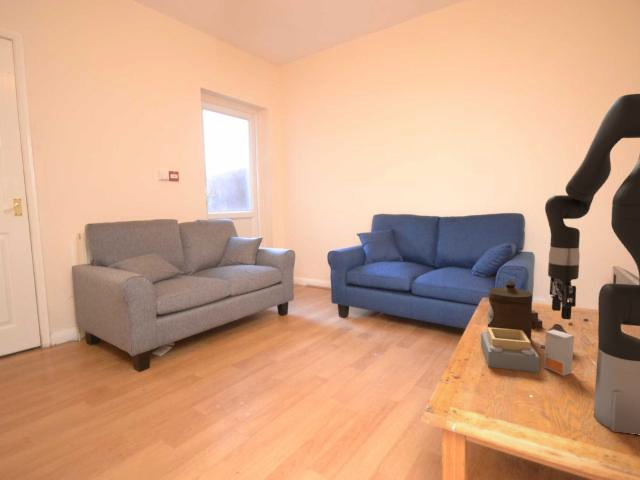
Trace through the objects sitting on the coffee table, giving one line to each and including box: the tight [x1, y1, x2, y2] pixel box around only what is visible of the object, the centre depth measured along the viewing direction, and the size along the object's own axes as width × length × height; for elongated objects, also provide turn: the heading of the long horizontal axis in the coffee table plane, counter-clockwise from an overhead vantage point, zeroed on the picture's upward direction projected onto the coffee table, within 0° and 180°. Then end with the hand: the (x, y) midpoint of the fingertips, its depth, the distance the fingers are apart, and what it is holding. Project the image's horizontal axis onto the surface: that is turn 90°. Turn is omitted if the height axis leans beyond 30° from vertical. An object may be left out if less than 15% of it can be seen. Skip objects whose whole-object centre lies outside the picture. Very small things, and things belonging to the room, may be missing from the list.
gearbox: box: [480, 326, 540, 373], centre depth 116 cm, size 18×14×8 cm
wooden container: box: [487, 280, 533, 343], centre depth 132 cm, size 15×15×22 cm
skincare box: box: [543, 330, 575, 377], centre depth 106 cm, size 6×4×12 cm
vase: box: [547, 323, 568, 334], centre depth 121 cm, size 7×7×9 cm
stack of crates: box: [532, 309, 543, 329], centre depth 146 cm, size 15×15×7 cm
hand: (560, 314), depth 105 cm, fingers open, 8 cm apart
